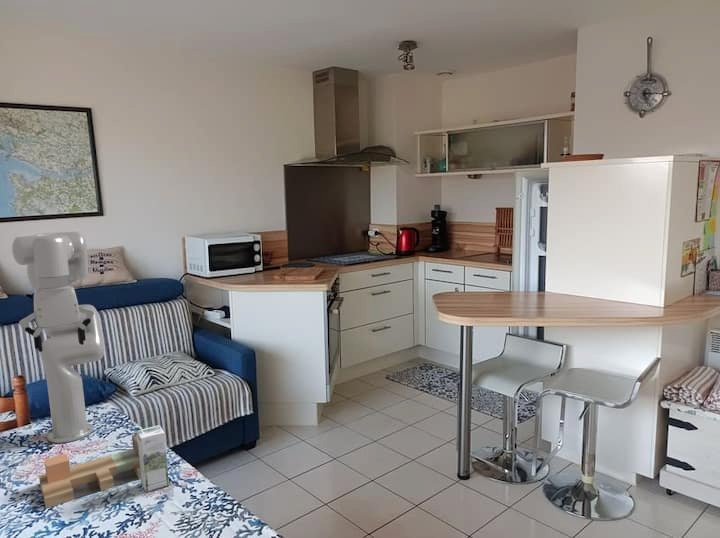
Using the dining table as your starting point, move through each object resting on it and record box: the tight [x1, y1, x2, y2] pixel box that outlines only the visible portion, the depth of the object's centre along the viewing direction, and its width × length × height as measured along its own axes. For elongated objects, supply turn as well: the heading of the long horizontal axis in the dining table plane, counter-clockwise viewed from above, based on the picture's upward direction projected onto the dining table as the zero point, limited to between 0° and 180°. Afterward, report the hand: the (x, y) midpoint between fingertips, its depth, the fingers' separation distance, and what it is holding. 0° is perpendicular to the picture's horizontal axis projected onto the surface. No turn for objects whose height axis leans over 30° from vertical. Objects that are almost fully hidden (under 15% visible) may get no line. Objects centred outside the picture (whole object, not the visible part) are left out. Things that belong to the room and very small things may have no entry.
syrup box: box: [136, 425, 170, 493], centre depth 135 cm, size 6×6×14 cm
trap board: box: [38, 434, 141, 509], centre depth 140 cm, size 14×24×6 cm, turn 126°
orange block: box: [43, 453, 71, 484], centre depth 137 cm, size 5×5×4 cm
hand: (61, 347), depth 143 cm, fingers open, 9 cm apart
